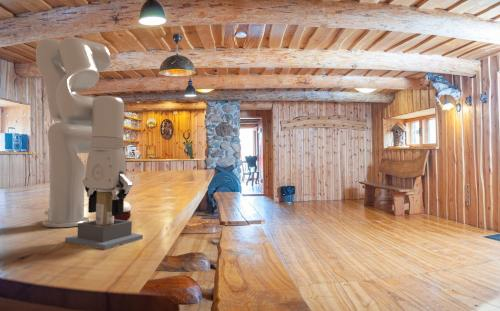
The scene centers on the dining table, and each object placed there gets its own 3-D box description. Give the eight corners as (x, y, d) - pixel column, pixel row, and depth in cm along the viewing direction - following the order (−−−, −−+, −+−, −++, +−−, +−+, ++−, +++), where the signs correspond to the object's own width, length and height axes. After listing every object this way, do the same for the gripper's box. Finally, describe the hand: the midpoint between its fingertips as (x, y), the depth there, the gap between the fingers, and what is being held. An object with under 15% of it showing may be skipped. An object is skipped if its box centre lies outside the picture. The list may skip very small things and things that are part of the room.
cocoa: (133, 223, 109) (136, 187, 109) (113, 225, 105) (116, 187, 105) (124, 217, 117) (127, 183, 117) (105, 218, 113) (108, 183, 113)
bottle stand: (65, 241, 83) (65, 223, 84) (104, 232, 94) (105, 216, 94) (105, 249, 77) (105, 230, 77) (142, 238, 88) (143, 221, 88)
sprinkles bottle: (115, 236, 85) (117, 184, 85) (96, 238, 83) (98, 184, 83) (111, 233, 89) (113, 182, 89) (93, 234, 87) (95, 182, 87)
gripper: (71, 144, 86) (69, 212, 86) (121, 144, 79) (119, 219, 79) (96, 145, 93) (94, 208, 93) (143, 145, 86) (142, 214, 86)
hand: (105, 213), depth 86 cm, fingers open, 7 cm apart
